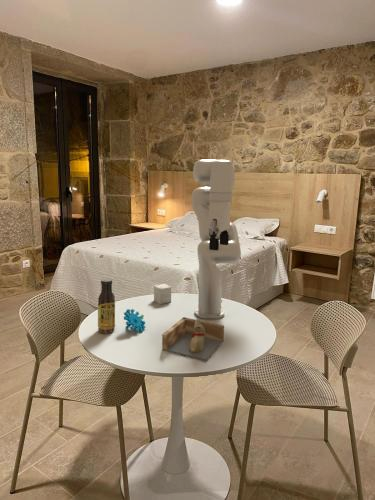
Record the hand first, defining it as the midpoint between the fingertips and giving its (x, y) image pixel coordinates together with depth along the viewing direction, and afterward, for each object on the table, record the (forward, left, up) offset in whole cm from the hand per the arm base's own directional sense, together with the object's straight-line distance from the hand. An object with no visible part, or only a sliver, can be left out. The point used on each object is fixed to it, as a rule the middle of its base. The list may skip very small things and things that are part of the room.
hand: (219, 247), depth 129 cm
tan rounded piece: (+13, -2, -33) cm, 35 cm away
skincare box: (-22, -35, -34) cm, 53 cm away
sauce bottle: (+15, -38, -34) cm, 53 cm away
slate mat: (+11, -4, -33) cm, 35 cm away
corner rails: (+11, -4, -33) cm, 35 cm away
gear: (+9, -29, -34) cm, 45 cm away
